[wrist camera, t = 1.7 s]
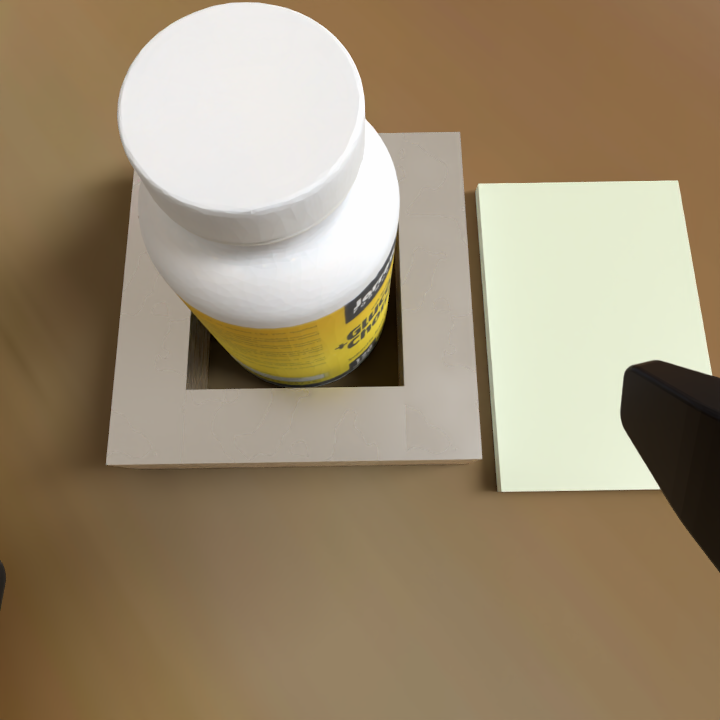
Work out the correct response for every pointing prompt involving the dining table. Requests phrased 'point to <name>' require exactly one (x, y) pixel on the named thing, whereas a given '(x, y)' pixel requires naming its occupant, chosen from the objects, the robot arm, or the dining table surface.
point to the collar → (313, 405)
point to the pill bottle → (264, 188)
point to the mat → (580, 323)
